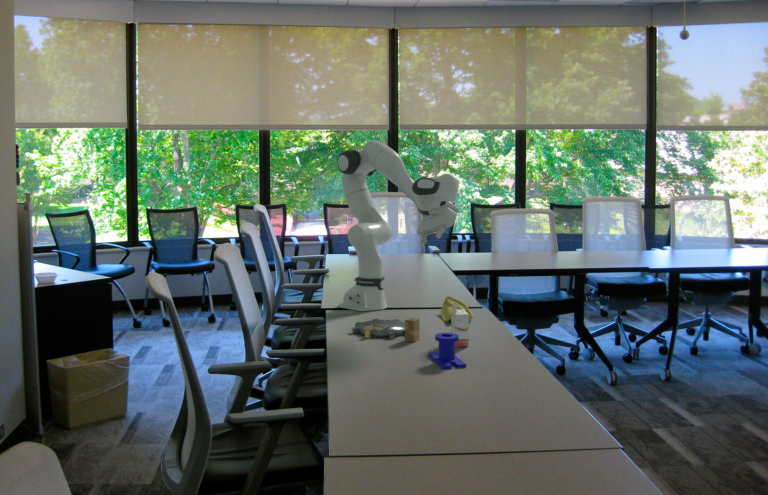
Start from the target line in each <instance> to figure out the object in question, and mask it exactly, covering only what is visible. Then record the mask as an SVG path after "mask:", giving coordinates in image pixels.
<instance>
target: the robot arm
mask: <svg viewBox="0 0 768 495" xmlns="http://www.w3.org/2000/svg"><path fill="white" fill-rule="evenodd" d="M336 160H337V161H336V162H337V163H336V164H337V168H338V170H339V172H340V173H341V174H343V175H342V177H341V184H342V185H341V186H342V188H343V193H344V197H345V199H346V203H347V206H348V209H349V212H350V214H351V215H352V216H353V217H354V218H356V220H358V221H359V223H357V224H354V225H352V226H351V227H350V228H349V230H348V231H347V238H348V242H349V244H350V245H351V246H352V248H354V250H355V252H356V255H357V260H358V261H357V262H358V276H357V277H356V278H354V279H353V282H355V284H354V285H353V286H352V287H350V288H349V289H348V290H347V291H346V292H345V293H344V294H343V300H342V302H340V303H339V304H338V308H342V309H347V310H352V311H359V312H367V311H381V310H385V309H387V308H388V304H387V301H386V297H385V296H386V295H385V276H384V259H383V257H382V256H381V255H380V254H379V251H378V247H377V246H380V245H385V244H386V243H388V242H389V241H391V239H392V238H393V236H394V235H393V234H394V231H393V228H392V227H393V226H392V225H391V224H390V223H389V222H388V221H386V220H385V219H384V218H383V217H382V215H381V214H380V212H379V211H378V209H377V207H376V205H375V204H374V201H373V198H372V196H371V192H370V190H369V186H368V184H367V176H368V177H371V176H372V175H373V174H374V173H375V172H376V171H378V173H380V174H381V175H383V176H384V177H385V178H386V179H387V180H389V182H391V183H392V184H394V185H395V187H397V188H398V189H399V190H400V191H401V192H402V193H403V194H405V195H406V196H407V197H408V198H409V199H410V200H411V201H412V202H413V203H414V204H415V206H416V208H417V210H418V212H419V213H420V214H422V215H424V216H425V217H423V218H422V219H421V220H420V222H419V225H418V226H417V229H416V234H417V235H418V236H419V237H420V238H421V239H420V243H421V244H422V245H424V244H426V243H427V241H428V239H427V237H428V236H430V235H433V234H435V238H436V239H437V240H438V239H441V238H442V235H443V234H444V233H445V232H446V230H447V229H448V228H451V227H453V226H454V225H455V222H456V220H457V217H458V213H459V212H460V208H459V207H458V206H456V205H455V204H454V203H455V201H456V199H457V196H458V192H459V186H460V184H459V180H458V179H457V178H456V177H455V176H454V175H452V174H450V173H444V174H442V175H439V176H435V177H427V176H423V177H420V178H417V179H416V180H415V181H414V180H413V179H412V177H410V174H409V173H408V170H407V169H406V166H405V163H404V161H403V159H402V158H401V155H399V154H398V152H396V151H395V150H394V149H393V148H391V147H390V146H388V145H387V144H385V143H383V142H382V141H379V140H376V139H371V140H369V141H367V142H366V143H365V144H364V146H363V148H357V149H347V150H344V151H342V152H341V153H340V154H339V155H338V156H337V159H336Z"/></svg>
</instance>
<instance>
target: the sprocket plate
mask: <svg viewBox="0 0 768 495" xmlns="http://www.w3.org/2000/svg"><path fill="white" fill-rule="evenodd" d="M354 325H355V327H351V330H352V331H351V332H352V334H353V335H357V334H358V335H361V336H364V338H365V339H372V338H376V339H377V338H378V339H382V338H383V339H386V338H387V339H389V340H392V339H394V340H395V338H397V337H402V336H405V321H400V319H398V318H395V319H378V318H372V319H371V320H367V321H363V322H362V321H356V322H355V324H354Z"/></svg>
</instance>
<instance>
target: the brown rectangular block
mask: <svg viewBox="0 0 768 495" xmlns="http://www.w3.org/2000/svg"><path fill="white" fill-rule="evenodd" d="M404 322H405V335H404V342H408V343H417V342H418V341H420V318H418V317H417V318H416V317H411V316H410V317H407V318H405V319H404ZM416 341H417V342H416Z"/></svg>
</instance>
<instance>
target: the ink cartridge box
mask: <svg viewBox="0 0 768 495" xmlns="http://www.w3.org/2000/svg"><path fill="white" fill-rule="evenodd" d="M453 307H455V309H454V308H453ZM456 308H457V306H456V305H455V304H454V303H453V302H452V309H451V319H450V323H451V324H450V333H454V334H457V335H458V336H459V340H458V341H456V342H455V348H465V347H466V348H468V347H469V325H470V324H469V323H470V322H469V314H468V313H467V312H466V311H465V310H464V309H460V310H456Z"/></svg>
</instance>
